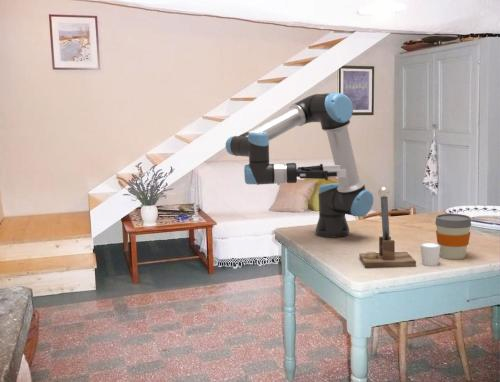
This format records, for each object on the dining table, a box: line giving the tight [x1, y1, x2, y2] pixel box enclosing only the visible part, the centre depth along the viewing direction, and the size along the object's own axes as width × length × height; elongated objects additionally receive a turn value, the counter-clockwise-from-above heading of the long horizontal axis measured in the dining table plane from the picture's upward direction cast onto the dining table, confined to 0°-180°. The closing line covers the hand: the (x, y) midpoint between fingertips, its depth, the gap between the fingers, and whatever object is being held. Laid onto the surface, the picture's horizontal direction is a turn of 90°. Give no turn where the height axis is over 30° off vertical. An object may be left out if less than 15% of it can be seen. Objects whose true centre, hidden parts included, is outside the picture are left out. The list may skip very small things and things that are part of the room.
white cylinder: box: [420, 242, 440, 267], centre depth 191 cm, size 7×7×7 cm
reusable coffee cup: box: [435, 213, 472, 260], centre depth 198 cm, size 13×12×15 cm
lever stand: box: [358, 235, 417, 269], centre depth 194 cm, size 12×18×9 cm, turn 89°
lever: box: [377, 186, 391, 246], centre depth 192 cm, size 4×4×24 cm
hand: (343, 170), depth 196 cm, fingers open, 13 cm apart
